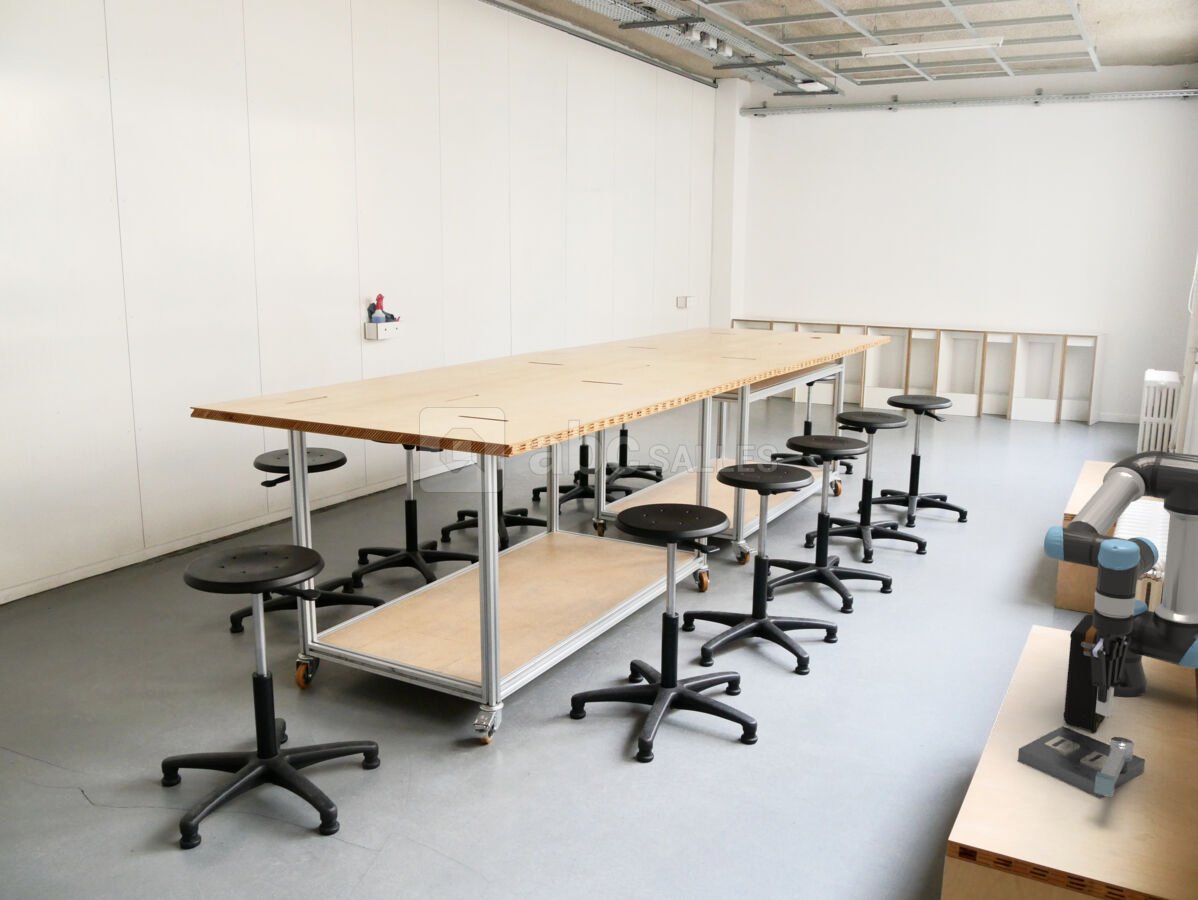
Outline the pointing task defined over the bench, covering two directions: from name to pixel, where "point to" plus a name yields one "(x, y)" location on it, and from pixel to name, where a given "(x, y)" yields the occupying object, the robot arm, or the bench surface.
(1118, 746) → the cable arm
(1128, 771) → the grey slotted box
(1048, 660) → the bench surface
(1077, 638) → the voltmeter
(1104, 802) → the bench surface
